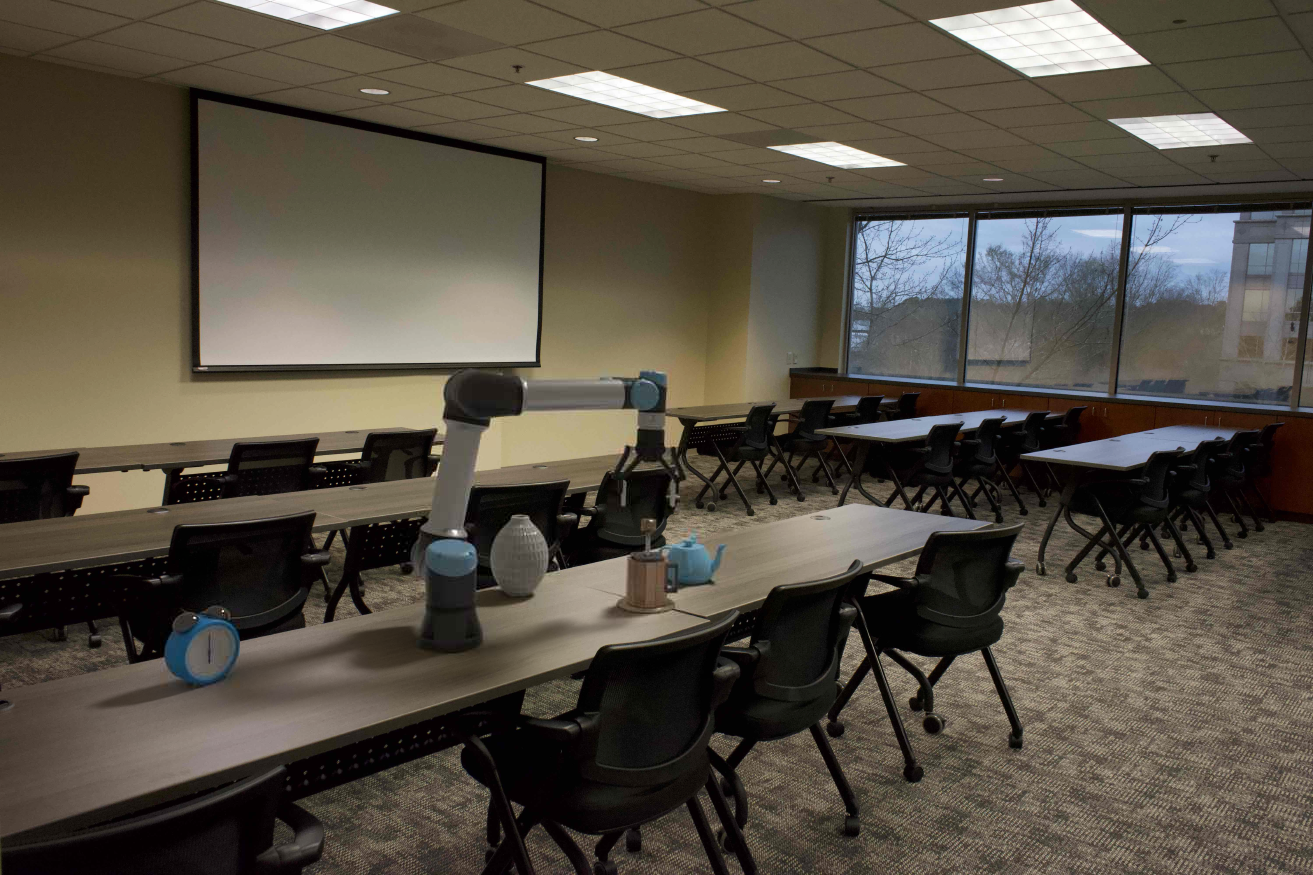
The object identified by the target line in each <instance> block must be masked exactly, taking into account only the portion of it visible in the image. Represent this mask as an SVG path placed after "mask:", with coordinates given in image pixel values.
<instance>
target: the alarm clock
mask: <svg viewBox="0 0 1313 875" xmlns="http://www.w3.org/2000/svg"><path fill="white" fill-rule="evenodd" d="M230 619H231V614H230V612H229V611H228V610H227V609H226V608H225V607H223V605H220V606H219V605H212V606H210V607H208V608H207V609H206V610H205V611H201V612H199V615H198V614H196V613H194V612H189V611H188V612H185V613H182V614H180V615H178V616H177V617H175V620H173V623H172V629H173V630H172V632H171V633H170V635H169V637H168V638H167V640H166V643H165V648H164V654H163V655H164V662H165V665H166V667H167V669H168V671H169V672H170V673H171V674H172V675H174V677H176V678H178V679H181V680H183V681H187V682H189V683H192V684H193V686H192V689H195V688H196V687H197V685H209V684H210V685H211V684H213V683H215V682H217V681H219V680H220V679H222V678H223V679H227V678H226V675H227V674H228V673H229V672H230V671H231V670H232V668H234V667H233V666H235V664H236V662H237V660H238V657H239V654H240V649H241V648H240V647H241V642H240V636H239V634H238V631H237V630H236V628H235V627H234V626H233V625H232V624H231V623H230V622H227V621H230Z"/></svg>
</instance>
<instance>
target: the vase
mask: <svg viewBox="0 0 1313 875" xmlns="http://www.w3.org/2000/svg"><path fill="white" fill-rule="evenodd" d="M489 562H490V568H491V572H492V575H493V578H494V579H495V582H496V584H498V586H499V588H500V589H501V590H502V591H503V592H504V593H505V594H506V595H507V594H508V595H507V596H510V595H511V596H510V597H515V596H522V597H527V596H526V595H528V596H530V595H532V593H534V592H535V590H537V588H538V587H539V586H540V584H541V583H542V581H543V580H544V578H545V576H546V574H547V570H548V566H549V548H548V544H547V541H546V539H545V537H544V535H543V534H542V531H540V530H539V529H538V527H537V526H536V525H535V524H534V523H533V522H532V521H531V519H530V516H529V515H525V514H516V515H512V516H511V517H510V520H509V521H508V522H507V523H506V524H505V525H504V526H503V527H502V528H501V529H500V531H499V532H498V533H497V535H496V536H495V538H494V540H493V543H492V545H491V550H490V560H489Z"/></svg>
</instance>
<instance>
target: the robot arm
mask: <svg viewBox="0 0 1313 875" xmlns="http://www.w3.org/2000/svg"><path fill="white" fill-rule="evenodd" d="M667 391H668V377H667V373H666V372H664V371H662V370H661V371H660V370H640V371H639V375H638V377H621V376H601V377H599V378H598V379H523V378H522V377H521V375H509V374H507V375H506V374H499V373H495V372H494V373H493V372H490V371H486V370H478V369H476V368H466V369H465V368H464V369H460V370H458V371H456V372H454V373H453V374H452V375H450V377H448V379H447V380H446V381H445V383H444V387H443V391H442V392H443V401H444V407H443V412H442V418H441V420H442V421H443V423H444V424H445V425H446V430H445V436H444V439H443V440H444V441H443V444H442V445H443V446H442V450H441V455H440V461H439V465H438V471H437V476H436V481H435V486H434V490H433V496H432V499H431V500H432V501H431V507H430V510H429V511H430V512H429V515H428V521H427V522H426V523H424V524H422V525H421V526H420V528H419V534H418V539H417V541H415V543H414V545H413V546H412V549H411V552H410V562H411V566H412V569H413V571H414V573H415V574H416V575H417V578H419V579H420V580H422V581H423V583H424V584H425V612H424V614H423V618H422V620H421V623H420V626H419V629H418V632H417V646H418V647H419V648H421V649H423V650H426V651H429V652H438V653H456V652H462V651H463V652H464V651H468V650H472V649H475V648H477V647H479V646H481V645H482V644H483V642H484V630H483V627H482V624H481V622H480V621H481V620H480V618H479V615H478V611H477V565H478V557H477V550H476V547H475V546H474V545H473V544H471V543H470V542H468V533H467V531H466V530H465V529H464V523H465V519H466V513H467V509H468V503H469V499H470V494H471V490H472V483H473V478H474V473H475V469H476V464H477V463H476V462H477V459H478V454H479V449H480V444H481V438H482V435H483V433H485V431H487V430H488V429H490V426H491V419H496V418H502V417H519V416H522V414H523V413H524V412H555V411H556V412H559V411H560V412H561V411H596V410H597V411H598V410H600V411H601V410H603V411H604V410H607V411H608V410H637V424H636V425H637V427H638V428H637V429H636V444H635V446H633V445H629V444H625V445H624V450H623V454H622V455H621V457H620V459H619V461H618V463H617V465H616V466H615V468H614V470H613V472H612V473H611V478H612V479H613V480H616V481H617V492H618V494H621V495H620V496H621V497H620V498H621V500H620V505H621V506H622V507H626V502H627V501H626V500H627V499H626V497H627V481H625V480H626V479H627V477H628V476H630V474H631V473H632V472H633V471H634V470H635V468H637V467H638V465H640V463H641V462H643V463H658V462H659V463H660V465H661V466H662V467H663V468H664V470H665V471H666V472H667V474H668V475H669V476H670V477H671V480H673V481H670V494H669V495H670V496H669V497H670V499H669V506H671V507H672V508H673V507H674V508H675V506H676V504H675V503H676V495H679V493H680V483H681V482H683V481H686V480H687V476H686V474H685V472H684V470H683V467H682V465H681V463H680V460H679V458H678V456H677V448H676V446H674V445H670V446H666V445H665V438H666V437H665V435H666V434H665V433H666V431H665V427H666V412H667V411H666V409H667ZM633 452H635V454H636V456H635V457H634V459H633V460H632V461H631V463H630V464H628V466H627V467H626V468H625V469H624V470H623V468H624V466H625V464H626V462H627V460H629V457H630V454H632V453H633ZM665 453H667V454H668V455H670V457H671V461H672V463H673V465H674V467H675V469H676V471H677V473H678V475H677V474H676V473H675V472H674V470H673V469H672V468H671V467H670V465H669V464H668V463H667V462H666V460H665V458H664V457H663V456H664V455H665ZM622 470H623V472H622V473H621V471H622Z"/></svg>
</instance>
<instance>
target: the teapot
mask: <svg viewBox="0 0 1313 875" xmlns="http://www.w3.org/2000/svg"><path fill="white" fill-rule="evenodd" d="M697 538H698V534H697V533H693V534H691V538H688V539H687V538H686V539H684V540H683V542H682V543H676V544H674V545H673V546H670V545H664V546H662V547H660V548H659V550H658V552H659V553H660V554H661V555H662V554H663V551H664V550H669V552H668V553H667V555H666V557H667V558H668V563H678V584H679V583H683V584H682V585H701V584H700V583H702V584H705V582H706V583H707V581H708V582H709V581H710V579H712V577H713V576H714V574H715V572H717V571H718V570H719V569H720V567H721V565H722V556H723V551H724V548H726V547H727V546H728V545H729V543H723V544H720V545H718V547H717V549H716V554H715V558H714V559H712V558H711V556H710V554H709V553H708V551H707V549H706V548H705V546H704V545H702V544H699V543H697ZM662 556H663V555H662ZM669 580H670V581H669ZM668 581H669V582H671V581H672V582H671V583H673V568H668Z"/></svg>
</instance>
